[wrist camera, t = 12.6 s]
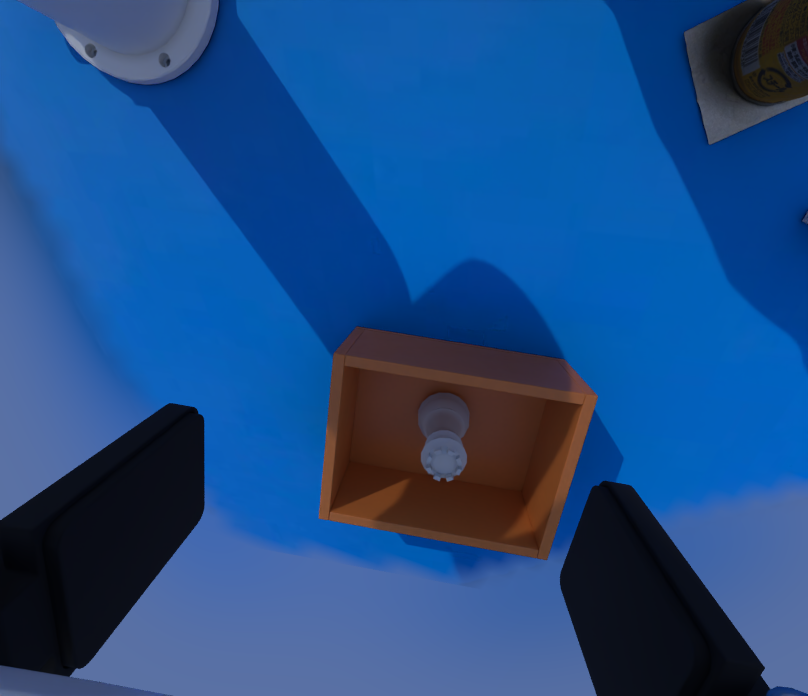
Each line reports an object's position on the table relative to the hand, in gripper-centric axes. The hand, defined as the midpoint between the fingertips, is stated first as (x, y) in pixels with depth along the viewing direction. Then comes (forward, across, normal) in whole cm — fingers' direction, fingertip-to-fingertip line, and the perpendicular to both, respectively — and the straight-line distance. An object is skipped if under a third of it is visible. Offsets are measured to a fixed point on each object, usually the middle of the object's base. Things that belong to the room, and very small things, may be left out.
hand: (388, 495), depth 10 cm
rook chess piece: (+24, -4, +10) cm, 26 cm away
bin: (+24, -4, +10) cm, 27 cm away
